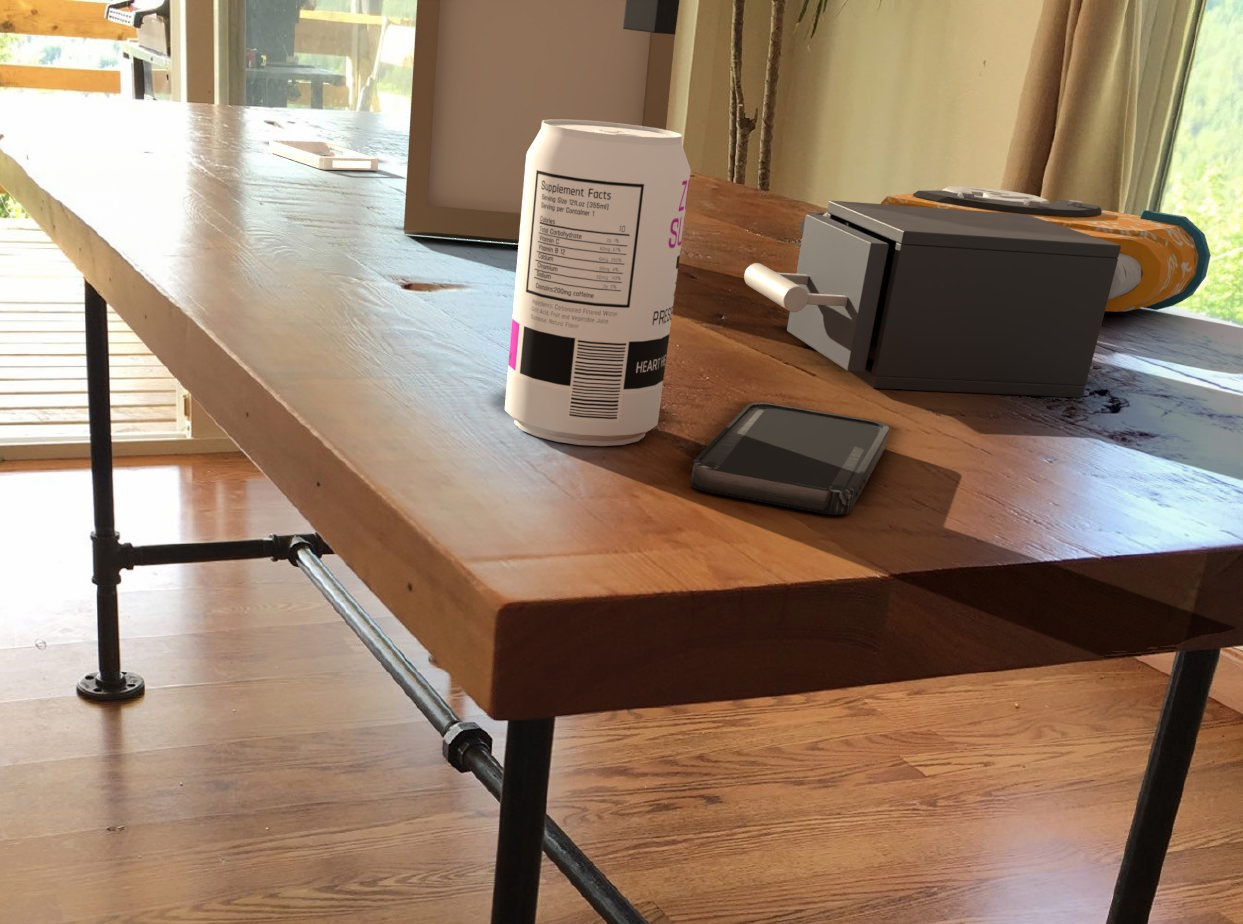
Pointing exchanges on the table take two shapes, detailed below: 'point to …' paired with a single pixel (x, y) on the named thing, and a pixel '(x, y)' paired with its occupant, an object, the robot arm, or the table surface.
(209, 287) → the table surface
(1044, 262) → the small grey cabinet
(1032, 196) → the device
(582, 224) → the supplement can
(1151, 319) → the table surface
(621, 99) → the photo frame
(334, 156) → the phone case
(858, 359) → the drawer
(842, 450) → the phone
